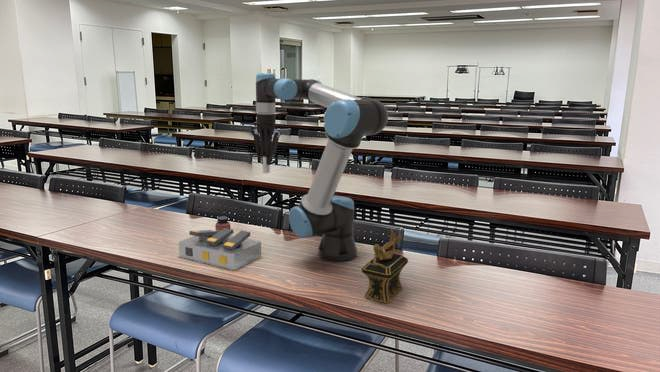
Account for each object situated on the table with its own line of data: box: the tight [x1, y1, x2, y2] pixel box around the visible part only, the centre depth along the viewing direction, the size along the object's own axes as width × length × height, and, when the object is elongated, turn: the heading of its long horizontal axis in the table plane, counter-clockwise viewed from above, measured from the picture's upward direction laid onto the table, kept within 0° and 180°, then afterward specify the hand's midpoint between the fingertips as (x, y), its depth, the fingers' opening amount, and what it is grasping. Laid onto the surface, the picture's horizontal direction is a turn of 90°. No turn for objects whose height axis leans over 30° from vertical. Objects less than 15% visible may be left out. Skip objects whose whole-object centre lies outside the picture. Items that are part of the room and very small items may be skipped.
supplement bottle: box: [214, 216, 231, 233], centre depth 189 cm, size 6×6×11 cm
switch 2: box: [206, 228, 234, 246], centre depth 175 cm, size 4×11×2 cm, turn 153°
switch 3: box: [223, 229, 251, 251], centre depth 171 cm, size 4×11×2 cm, turn 153°
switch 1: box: [188, 229, 217, 237], centre depth 178 cm, size 4×11×2 cm, turn 153°
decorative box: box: [361, 228, 409, 304], centre depth 148 cm, size 20×10×20 cm, turn 151°
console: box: [178, 234, 262, 272], centre depth 176 cm, size 26×16×7 cm, turn 63°
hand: (266, 172), depth 188 cm, fingers closed
